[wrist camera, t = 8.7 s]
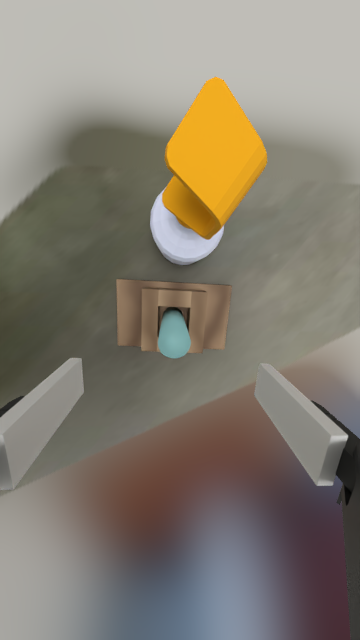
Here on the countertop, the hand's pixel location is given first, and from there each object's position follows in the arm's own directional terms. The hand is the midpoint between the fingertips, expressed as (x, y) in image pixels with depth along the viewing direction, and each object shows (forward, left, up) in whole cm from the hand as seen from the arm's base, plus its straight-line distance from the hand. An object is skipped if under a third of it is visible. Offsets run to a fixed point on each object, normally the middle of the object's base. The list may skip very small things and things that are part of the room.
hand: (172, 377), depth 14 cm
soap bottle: (+1, +13, -22) cm, 26 cm away
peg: (0, 0, -21) cm, 21 cm away
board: (0, 0, -22) cm, 22 cm away
